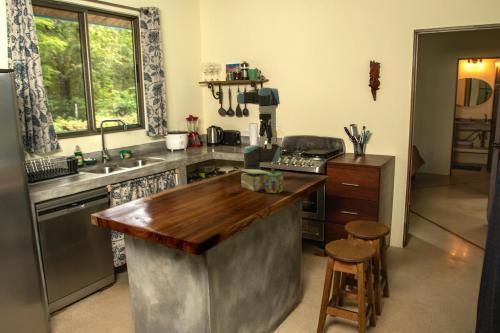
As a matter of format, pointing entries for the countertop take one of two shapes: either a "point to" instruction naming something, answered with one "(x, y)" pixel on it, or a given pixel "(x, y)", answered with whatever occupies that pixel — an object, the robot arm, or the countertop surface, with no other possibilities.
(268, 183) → the chalk box
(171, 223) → the countertop surface
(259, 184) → the crate
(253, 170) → the lid
